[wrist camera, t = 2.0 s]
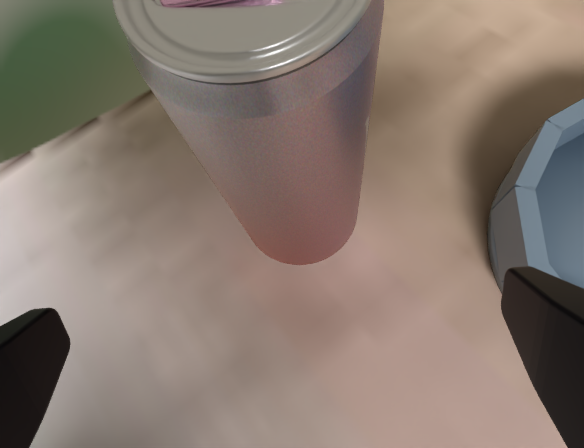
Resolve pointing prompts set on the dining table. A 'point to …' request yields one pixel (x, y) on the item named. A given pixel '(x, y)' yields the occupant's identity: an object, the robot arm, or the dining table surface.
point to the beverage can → (268, 106)
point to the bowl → (543, 203)
